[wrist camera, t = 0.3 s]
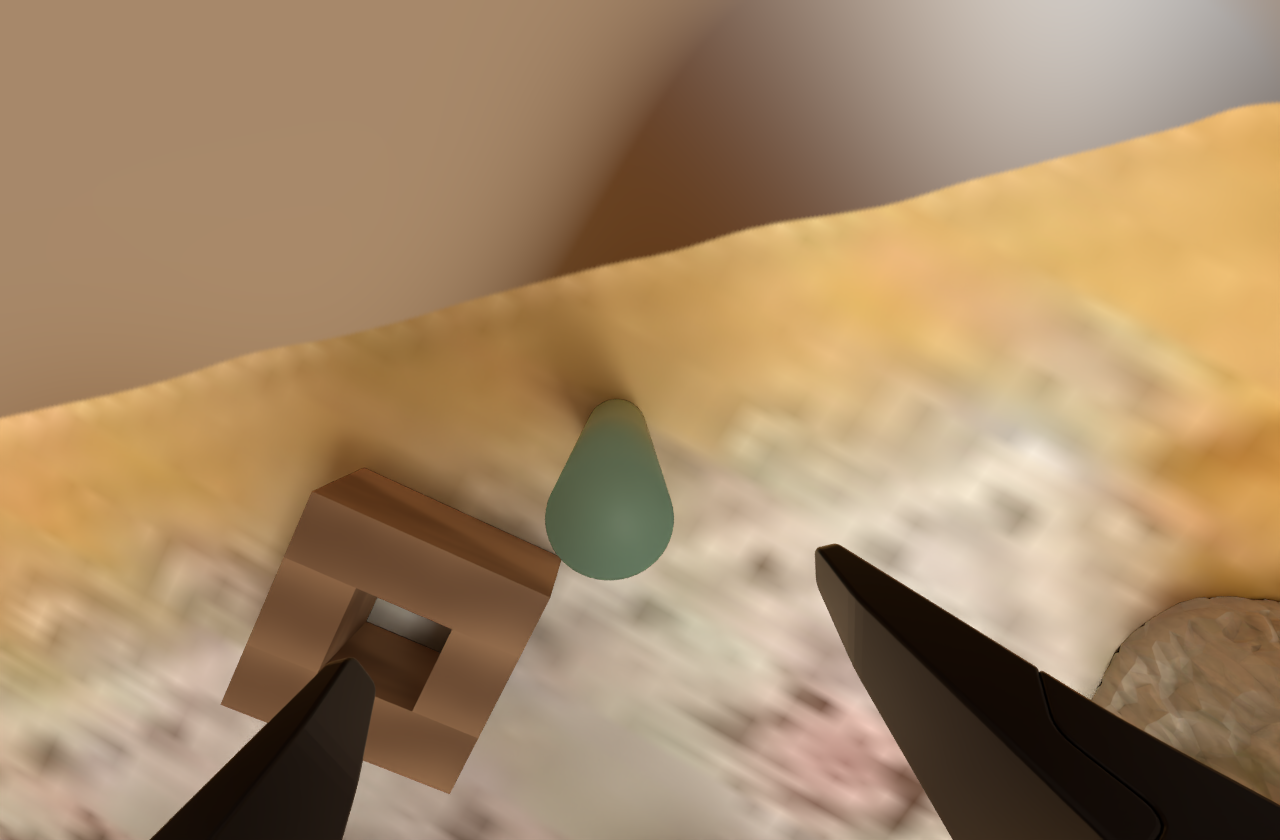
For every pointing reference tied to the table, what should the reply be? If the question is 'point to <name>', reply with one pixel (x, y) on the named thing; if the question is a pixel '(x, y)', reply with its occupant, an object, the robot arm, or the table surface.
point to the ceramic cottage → (1206, 685)
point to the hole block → (414, 580)
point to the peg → (611, 498)
